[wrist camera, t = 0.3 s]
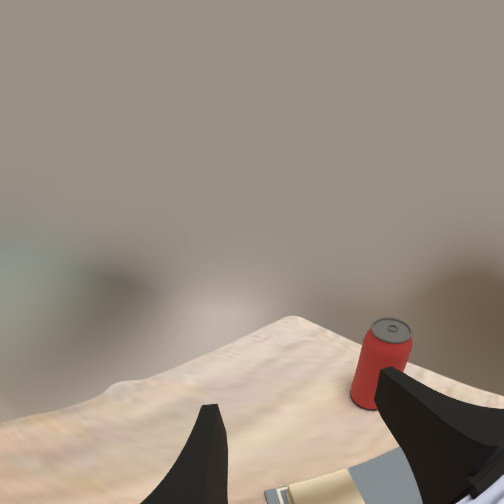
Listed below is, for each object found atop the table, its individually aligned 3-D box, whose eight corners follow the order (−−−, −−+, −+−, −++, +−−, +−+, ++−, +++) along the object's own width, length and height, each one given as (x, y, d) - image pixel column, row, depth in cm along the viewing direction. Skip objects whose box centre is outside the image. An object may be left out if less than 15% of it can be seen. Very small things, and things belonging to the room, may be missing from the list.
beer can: (398, 390, 33) (422, 324, 29) (380, 418, 28) (407, 350, 25) (362, 375, 37) (378, 309, 34) (341, 399, 33) (357, 331, 29)
